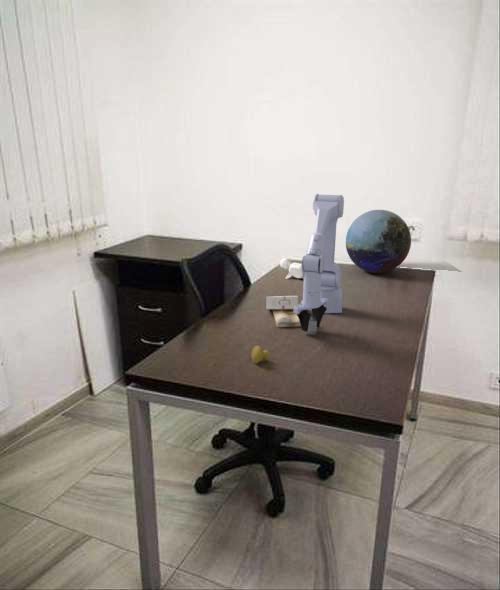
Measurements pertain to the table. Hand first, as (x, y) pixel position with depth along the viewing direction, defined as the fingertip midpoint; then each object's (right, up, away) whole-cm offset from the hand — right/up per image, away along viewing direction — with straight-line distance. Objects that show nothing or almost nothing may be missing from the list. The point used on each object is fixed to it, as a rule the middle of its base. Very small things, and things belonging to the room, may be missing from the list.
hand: (310, 328), depth 156 cm
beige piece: (-5, +2, +11) cm, 13 cm away
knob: (-18, -8, -19) cm, 27 cm away
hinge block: (0, -1, 0) cm, 1 cm away
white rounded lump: (0, +19, +62) cm, 65 cm away
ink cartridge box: (-14, +9, +18) cm, 25 cm away
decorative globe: (+41, +22, +69) cm, 83 cm away
